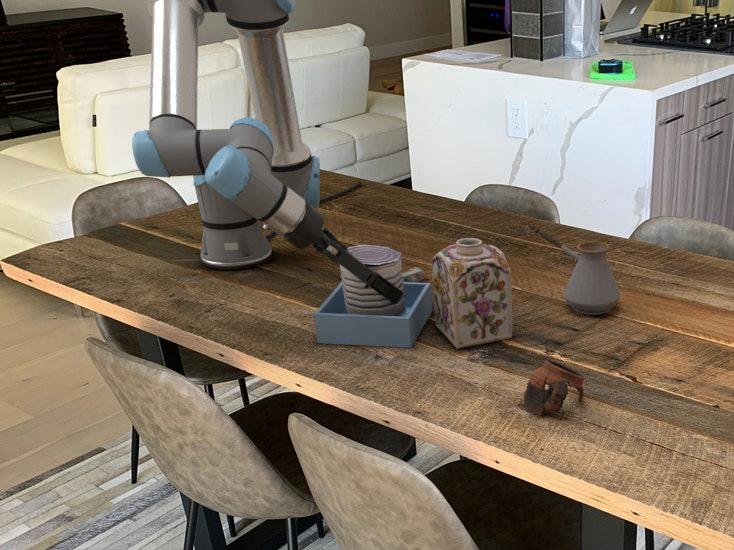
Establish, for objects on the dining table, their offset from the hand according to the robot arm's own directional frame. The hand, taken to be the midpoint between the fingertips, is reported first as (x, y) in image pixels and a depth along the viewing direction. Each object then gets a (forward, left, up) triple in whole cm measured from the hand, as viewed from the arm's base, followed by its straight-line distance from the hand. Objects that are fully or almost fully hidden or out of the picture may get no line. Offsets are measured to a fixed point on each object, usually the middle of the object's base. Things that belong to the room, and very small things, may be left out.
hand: (387, 287), depth 165 cm
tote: (+2, -2, -7) cm, 8 cm away
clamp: (-18, -4, -8) cm, 20 cm away
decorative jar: (+3, +17, -8) cm, 19 cm away
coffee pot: (-14, +34, -8) cm, 37 cm away
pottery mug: (+30, +35, -8) cm, 46 cm away
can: (+2, -2, -5) cm, 5 cm away
